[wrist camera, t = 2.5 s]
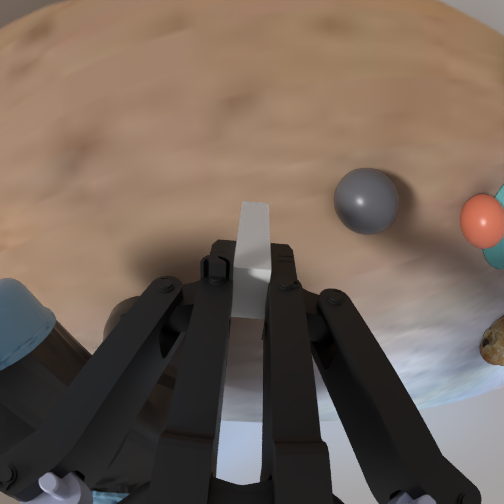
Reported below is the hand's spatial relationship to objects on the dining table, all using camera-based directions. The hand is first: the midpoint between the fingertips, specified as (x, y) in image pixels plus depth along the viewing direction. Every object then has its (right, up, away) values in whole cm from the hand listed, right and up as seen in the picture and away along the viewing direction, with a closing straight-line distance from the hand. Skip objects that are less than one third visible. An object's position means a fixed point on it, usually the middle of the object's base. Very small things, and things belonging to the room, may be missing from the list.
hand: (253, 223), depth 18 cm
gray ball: (+9, +2, +6) cm, 11 cm away
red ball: (+23, +1, +6) cm, 24 cm away
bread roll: (+42, -15, +19) cm, 49 cm away
